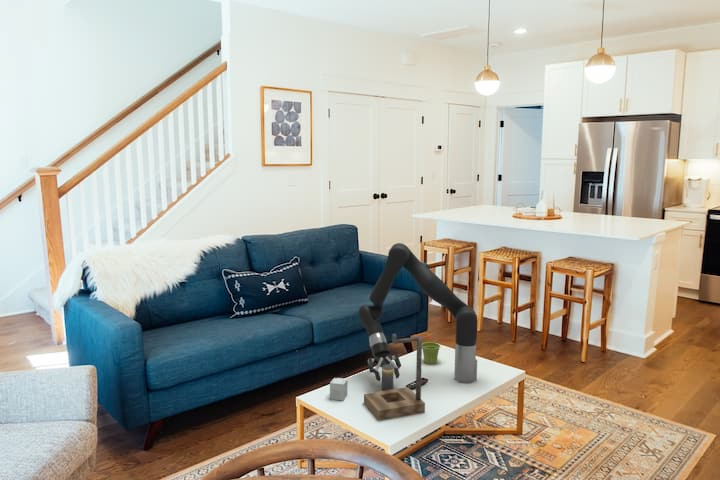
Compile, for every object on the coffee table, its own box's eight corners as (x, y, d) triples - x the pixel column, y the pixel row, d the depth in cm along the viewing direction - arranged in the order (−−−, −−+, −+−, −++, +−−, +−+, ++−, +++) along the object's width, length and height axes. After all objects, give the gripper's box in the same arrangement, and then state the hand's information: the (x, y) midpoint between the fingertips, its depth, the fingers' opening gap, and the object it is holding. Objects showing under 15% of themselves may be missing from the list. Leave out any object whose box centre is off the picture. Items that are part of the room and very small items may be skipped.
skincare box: (343, 401, 229) (343, 384, 228) (329, 399, 231) (329, 382, 230) (347, 395, 235) (347, 378, 234) (334, 393, 237) (334, 377, 236)
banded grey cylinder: (390, 387, 243) (391, 363, 241) (395, 391, 238) (395, 367, 236) (379, 388, 241) (380, 364, 239) (384, 393, 236) (384, 369, 235)
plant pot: (434, 367, 266) (435, 350, 265) (417, 363, 271) (417, 346, 270) (443, 361, 274) (443, 344, 272) (426, 357, 279) (426, 340, 277)
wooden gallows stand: (407, 395, 234) (408, 322, 229) (424, 412, 220) (426, 334, 214) (363, 403, 227) (364, 327, 222) (378, 420, 213) (379, 340, 208)
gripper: (366, 343, 241) (375, 378, 232) (395, 339, 246) (406, 373, 237) (361, 350, 247) (371, 384, 238) (391, 347, 252) (401, 380, 243)
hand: (388, 379), depth 238 cm, fingers open, 8 cm apart
